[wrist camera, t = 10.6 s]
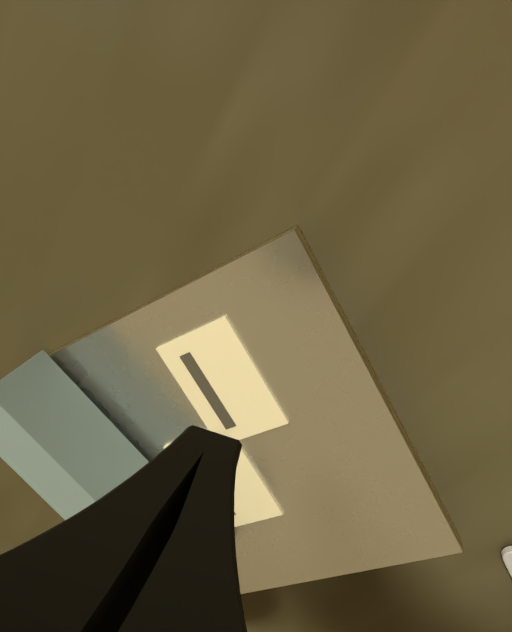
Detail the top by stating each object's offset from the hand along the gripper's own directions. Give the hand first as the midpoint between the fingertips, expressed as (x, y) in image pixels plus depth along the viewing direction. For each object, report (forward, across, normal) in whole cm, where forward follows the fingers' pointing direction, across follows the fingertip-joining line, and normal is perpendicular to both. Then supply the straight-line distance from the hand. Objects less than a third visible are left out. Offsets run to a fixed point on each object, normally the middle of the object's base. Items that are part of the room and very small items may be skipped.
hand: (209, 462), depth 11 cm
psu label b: (+9, 0, +10) cm, 14 cm away
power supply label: (+9, +2, +4) cm, 10 cm away
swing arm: (+9, +5, +11) cm, 15 cm away
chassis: (+10, 0, +8) cm, 13 cm away
